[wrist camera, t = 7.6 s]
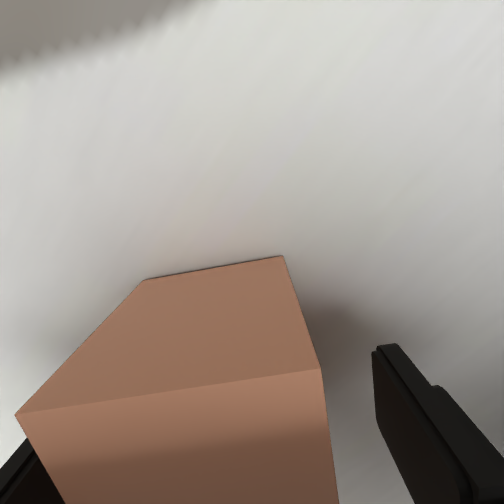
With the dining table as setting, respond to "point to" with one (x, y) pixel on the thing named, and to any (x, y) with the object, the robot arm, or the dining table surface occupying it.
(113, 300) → the dining table surface
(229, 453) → the stub
